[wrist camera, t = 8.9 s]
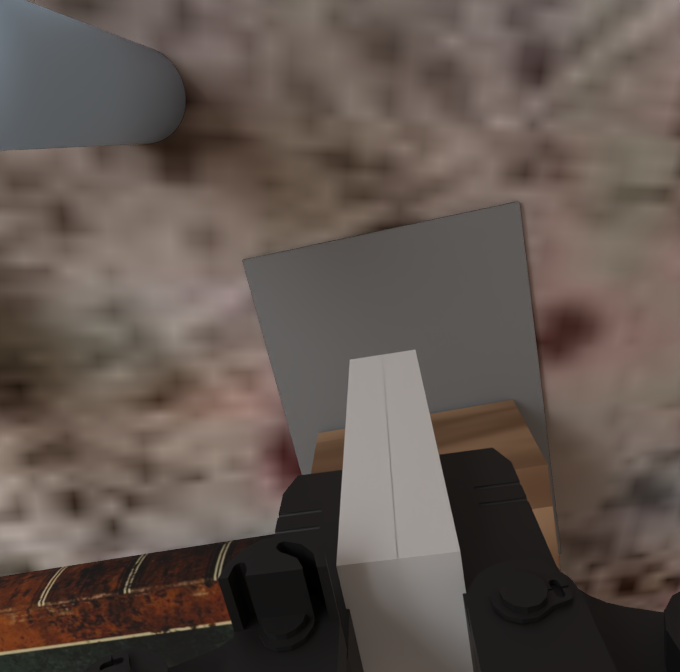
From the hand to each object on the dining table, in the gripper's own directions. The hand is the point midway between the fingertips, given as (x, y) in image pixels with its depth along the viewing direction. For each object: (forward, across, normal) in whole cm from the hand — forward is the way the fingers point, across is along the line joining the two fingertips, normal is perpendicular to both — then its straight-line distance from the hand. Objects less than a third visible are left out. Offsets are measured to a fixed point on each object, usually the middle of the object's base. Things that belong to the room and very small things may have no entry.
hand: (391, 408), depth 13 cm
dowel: (+15, -9, +9) cm, 20 cm away
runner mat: (+15, +1, -8) cm, 17 cm away
